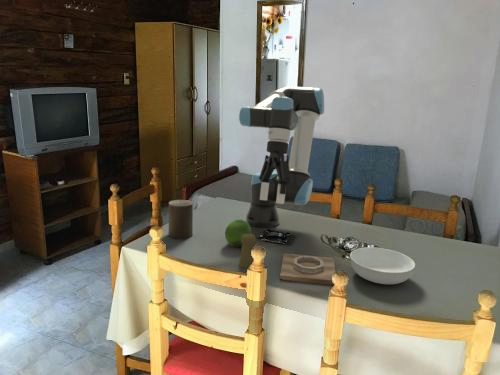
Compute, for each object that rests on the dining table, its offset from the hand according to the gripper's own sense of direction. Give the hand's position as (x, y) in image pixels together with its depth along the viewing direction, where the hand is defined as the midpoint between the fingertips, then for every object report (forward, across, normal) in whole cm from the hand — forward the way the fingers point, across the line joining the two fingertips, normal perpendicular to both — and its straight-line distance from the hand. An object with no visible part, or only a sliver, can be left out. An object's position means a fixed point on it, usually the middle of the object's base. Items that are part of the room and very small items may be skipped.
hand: (271, 201), depth 148 cm
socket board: (+22, +9, +12) cm, 27 cm away
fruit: (+19, -20, -2) cm, 27 cm away
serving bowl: (+21, +21, +33) cm, 45 cm away
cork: (+23, -1, -6) cm, 24 cm away
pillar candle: (+19, -35, -22) cm, 46 cm away
